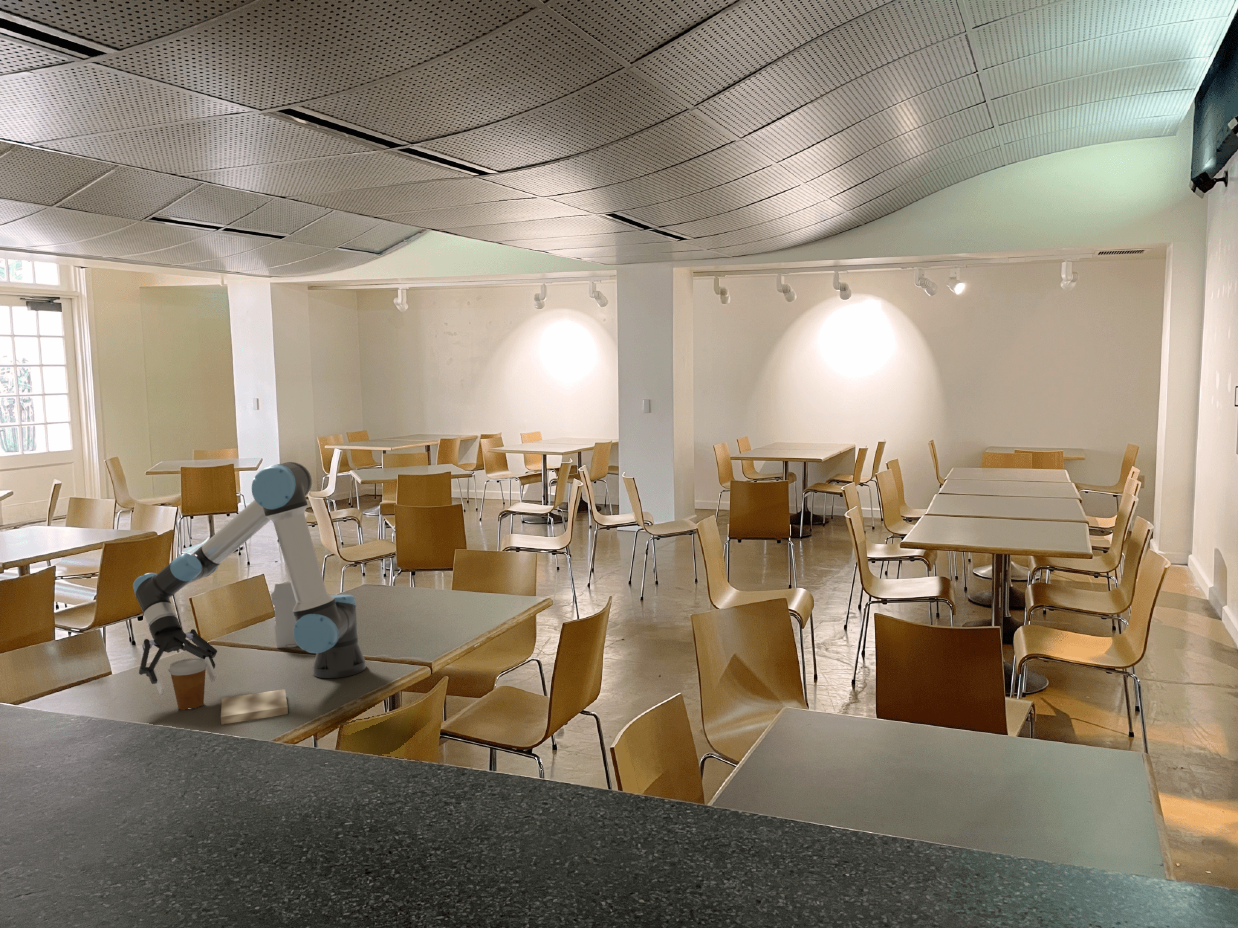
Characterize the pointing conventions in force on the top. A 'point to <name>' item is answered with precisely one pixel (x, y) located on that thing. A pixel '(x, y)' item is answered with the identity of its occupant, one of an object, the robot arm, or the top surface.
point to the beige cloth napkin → (253, 706)
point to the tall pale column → (284, 614)
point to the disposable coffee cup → (189, 682)
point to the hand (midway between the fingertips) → (188, 685)
